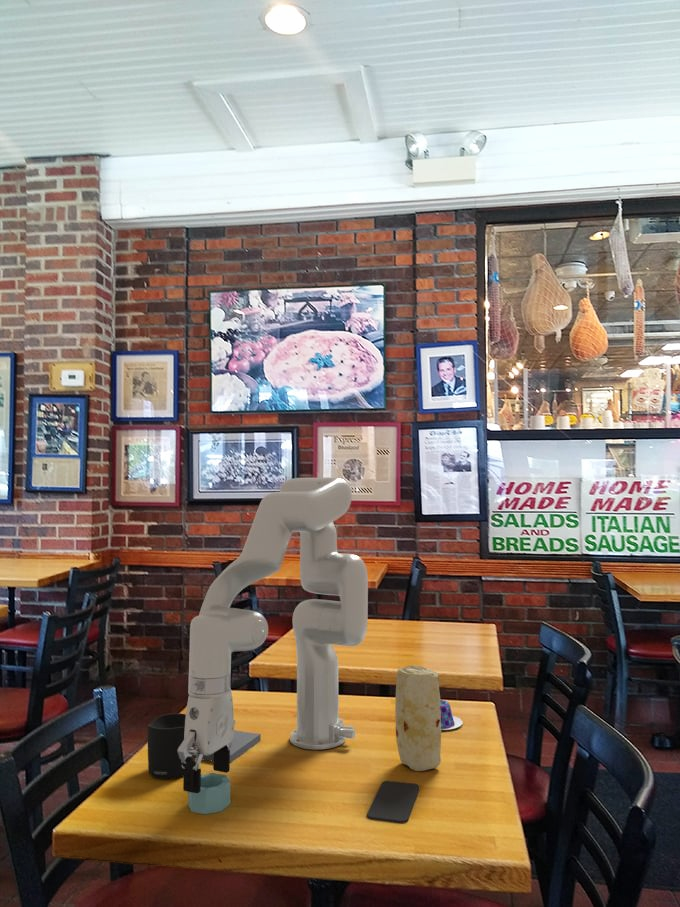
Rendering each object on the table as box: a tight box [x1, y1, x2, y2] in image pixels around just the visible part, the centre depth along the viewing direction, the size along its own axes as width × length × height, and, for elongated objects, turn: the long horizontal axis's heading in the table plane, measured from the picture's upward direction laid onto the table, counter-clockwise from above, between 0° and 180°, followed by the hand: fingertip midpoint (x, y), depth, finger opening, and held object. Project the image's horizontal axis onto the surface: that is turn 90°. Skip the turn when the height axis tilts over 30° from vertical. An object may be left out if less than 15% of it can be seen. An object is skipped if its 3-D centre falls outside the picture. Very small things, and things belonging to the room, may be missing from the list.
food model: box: [394, 665, 442, 772], centre depth 139 cm, size 10×7×20 cm
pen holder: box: [146, 712, 194, 780], centre depth 136 cm, size 9×9×10 cm
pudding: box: [440, 699, 463, 731], centre depth 164 cm, size 12×12×5 cm
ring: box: [187, 772, 231, 815], centre depth 121 cm, size 7×7×4 cm
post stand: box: [193, 729, 262, 764], centre depth 149 cm, size 14×14×8 cm
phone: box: [366, 780, 420, 824], centre depth 122 cm, size 7×1×15 cm
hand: (207, 781), depth 121 cm, fingers open, 9 cm apart
